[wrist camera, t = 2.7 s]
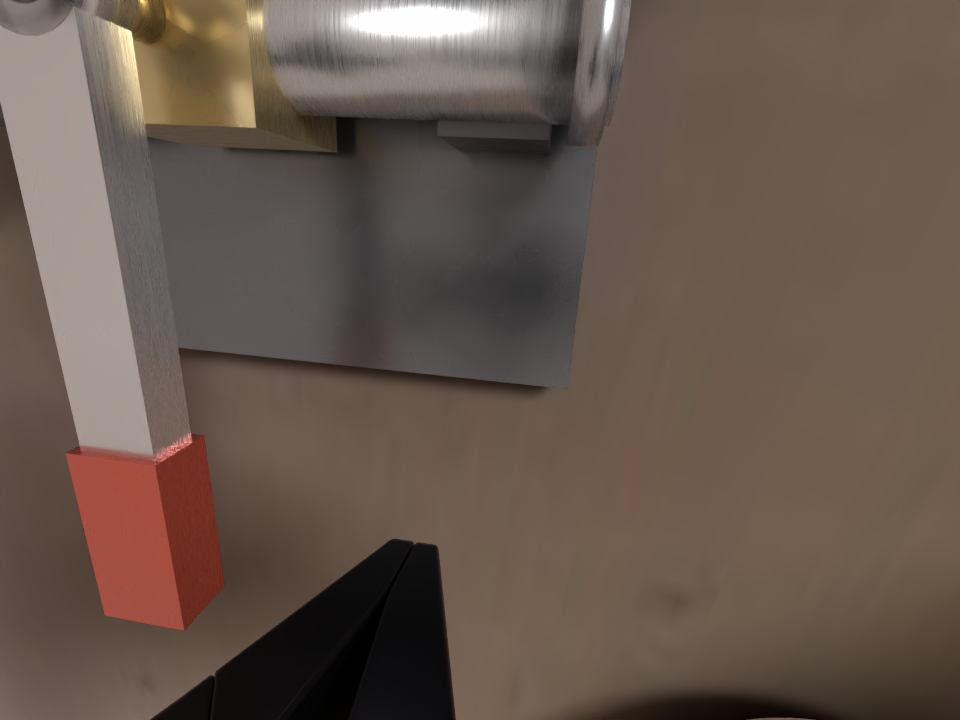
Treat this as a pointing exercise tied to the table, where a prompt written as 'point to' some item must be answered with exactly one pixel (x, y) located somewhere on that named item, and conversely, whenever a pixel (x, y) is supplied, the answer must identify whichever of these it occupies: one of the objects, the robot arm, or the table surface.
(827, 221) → the table surface
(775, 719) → the serving bowl
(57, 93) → the lever
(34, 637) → the table surface
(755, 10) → the table surface
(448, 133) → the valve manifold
